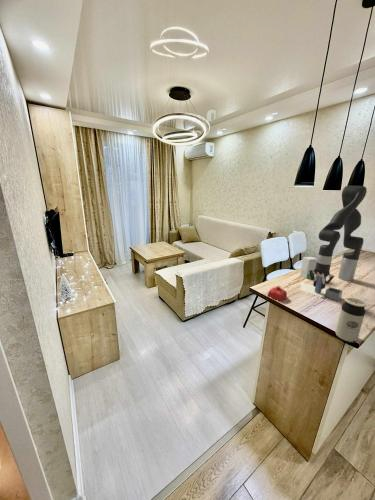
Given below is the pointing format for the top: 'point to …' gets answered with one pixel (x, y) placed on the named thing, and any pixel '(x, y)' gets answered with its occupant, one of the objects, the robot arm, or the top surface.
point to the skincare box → (308, 266)
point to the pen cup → (333, 293)
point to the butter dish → (277, 293)
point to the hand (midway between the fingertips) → (318, 287)
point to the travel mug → (350, 319)
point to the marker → (318, 284)
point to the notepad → (312, 290)
